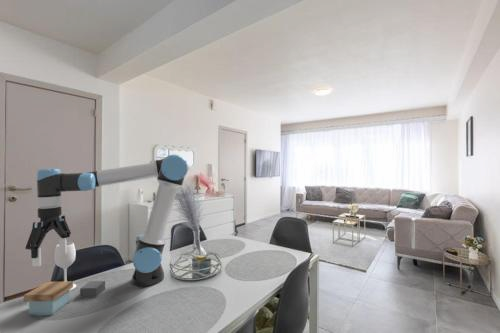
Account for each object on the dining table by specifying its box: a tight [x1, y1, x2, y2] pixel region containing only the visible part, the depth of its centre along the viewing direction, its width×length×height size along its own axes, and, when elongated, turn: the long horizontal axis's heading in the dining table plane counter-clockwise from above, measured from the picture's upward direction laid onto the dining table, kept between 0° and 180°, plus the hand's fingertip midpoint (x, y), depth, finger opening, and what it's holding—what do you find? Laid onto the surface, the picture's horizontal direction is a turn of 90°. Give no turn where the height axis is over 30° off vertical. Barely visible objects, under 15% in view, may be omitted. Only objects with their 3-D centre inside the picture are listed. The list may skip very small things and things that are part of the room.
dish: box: [28, 290, 70, 316], centre depth 100 cm, size 9×9×6 cm
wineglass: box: [53, 241, 77, 292], centre depth 117 cm, size 9×9×21 cm
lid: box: [23, 280, 74, 303], centre depth 100 cm, size 11×11×2 cm
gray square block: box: [79, 280, 106, 298], centre depth 113 cm, size 7×7×4 cm
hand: (50, 259), depth 100 cm, fingers open, 13 cm apart
